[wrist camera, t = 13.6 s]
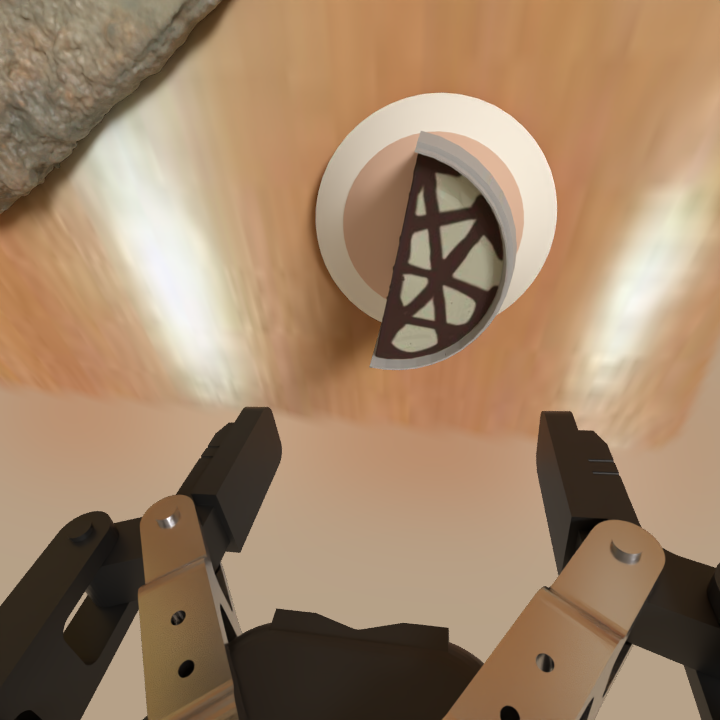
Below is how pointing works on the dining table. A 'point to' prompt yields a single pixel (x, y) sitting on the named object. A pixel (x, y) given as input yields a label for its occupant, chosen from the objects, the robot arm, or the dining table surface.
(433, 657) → the robot arm
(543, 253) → the dish
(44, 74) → the elongated rock
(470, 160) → the food container
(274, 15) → the dining table surface
